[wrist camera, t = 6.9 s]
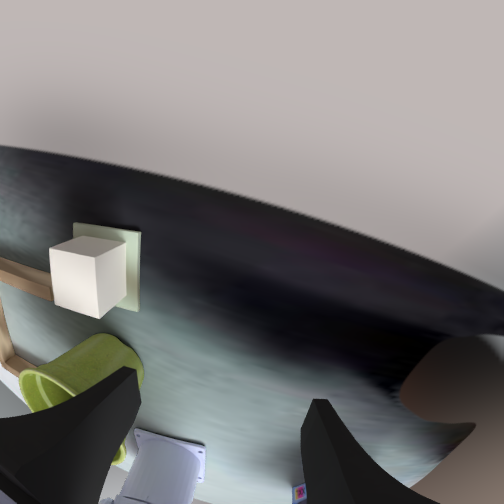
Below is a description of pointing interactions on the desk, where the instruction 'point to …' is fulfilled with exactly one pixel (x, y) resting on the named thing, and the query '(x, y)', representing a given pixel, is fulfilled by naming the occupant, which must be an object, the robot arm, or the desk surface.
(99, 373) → the plant pot
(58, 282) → the cream block
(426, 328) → the desk surface
